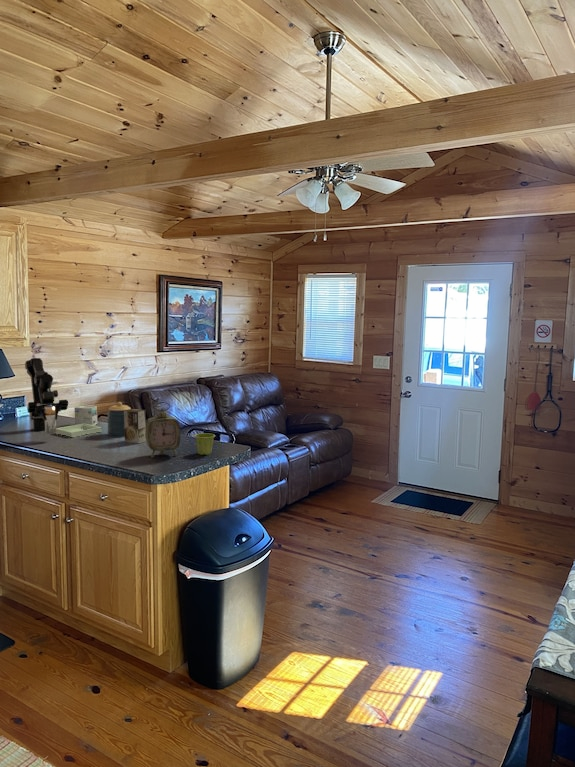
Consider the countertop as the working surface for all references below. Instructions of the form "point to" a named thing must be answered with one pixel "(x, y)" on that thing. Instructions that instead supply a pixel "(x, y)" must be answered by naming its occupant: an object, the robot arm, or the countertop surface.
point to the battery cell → (50, 419)
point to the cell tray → (78, 430)
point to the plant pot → (204, 443)
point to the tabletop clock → (162, 432)
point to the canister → (116, 420)
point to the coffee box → (135, 425)
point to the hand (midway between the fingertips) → (50, 419)
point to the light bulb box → (86, 415)
